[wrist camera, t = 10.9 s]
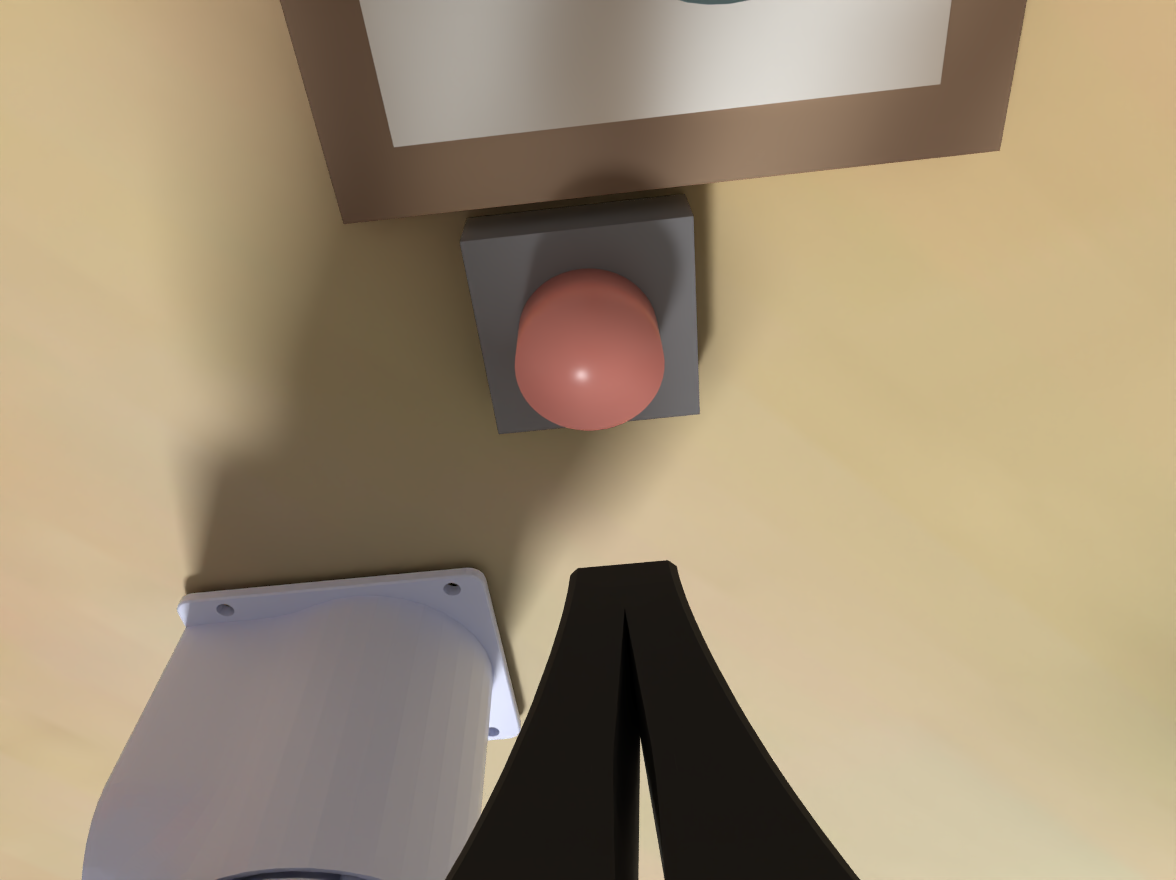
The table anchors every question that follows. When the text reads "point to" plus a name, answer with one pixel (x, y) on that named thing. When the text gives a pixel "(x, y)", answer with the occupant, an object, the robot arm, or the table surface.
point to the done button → (588, 350)
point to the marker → (712, 1)
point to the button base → (580, 241)
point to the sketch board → (638, 93)
